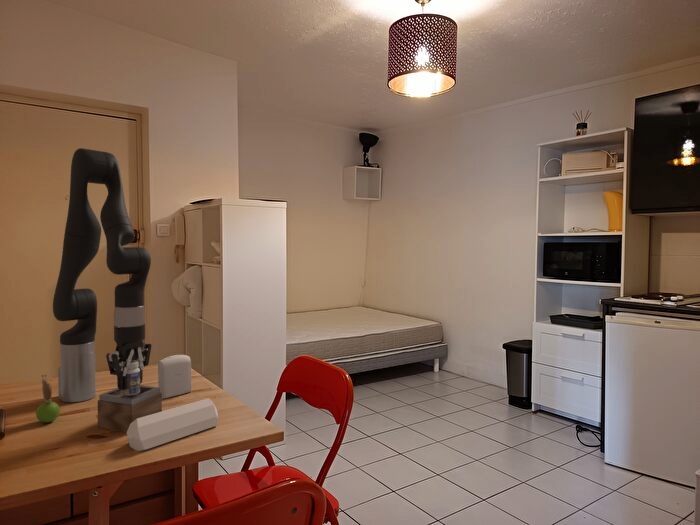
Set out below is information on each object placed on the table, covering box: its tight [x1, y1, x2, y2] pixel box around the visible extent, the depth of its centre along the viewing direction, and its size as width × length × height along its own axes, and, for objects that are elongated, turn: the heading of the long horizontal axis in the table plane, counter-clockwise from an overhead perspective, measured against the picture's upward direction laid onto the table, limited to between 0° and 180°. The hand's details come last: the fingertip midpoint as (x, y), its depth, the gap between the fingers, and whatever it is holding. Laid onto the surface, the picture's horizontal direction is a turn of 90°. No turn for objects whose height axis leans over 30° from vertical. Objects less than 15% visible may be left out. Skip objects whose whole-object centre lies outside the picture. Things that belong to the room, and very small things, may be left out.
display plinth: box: [97, 384, 163, 433], centre depth 129 cm, size 11×11×8 cm
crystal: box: [126, 398, 219, 452], centre depth 122 cm, size 7×7×24 cm
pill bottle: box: [121, 360, 141, 396], centre depth 129 cm, size 5×5×8 cm
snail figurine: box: [35, 374, 61, 424], centre depth 129 cm, size 5×6×12 cm
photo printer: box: [157, 354, 192, 400], centre depth 152 cm, size 10×4×12 cm, turn 137°
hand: (130, 386), depth 129 cm, fingers closed on pill bottle, 4 cm apart
